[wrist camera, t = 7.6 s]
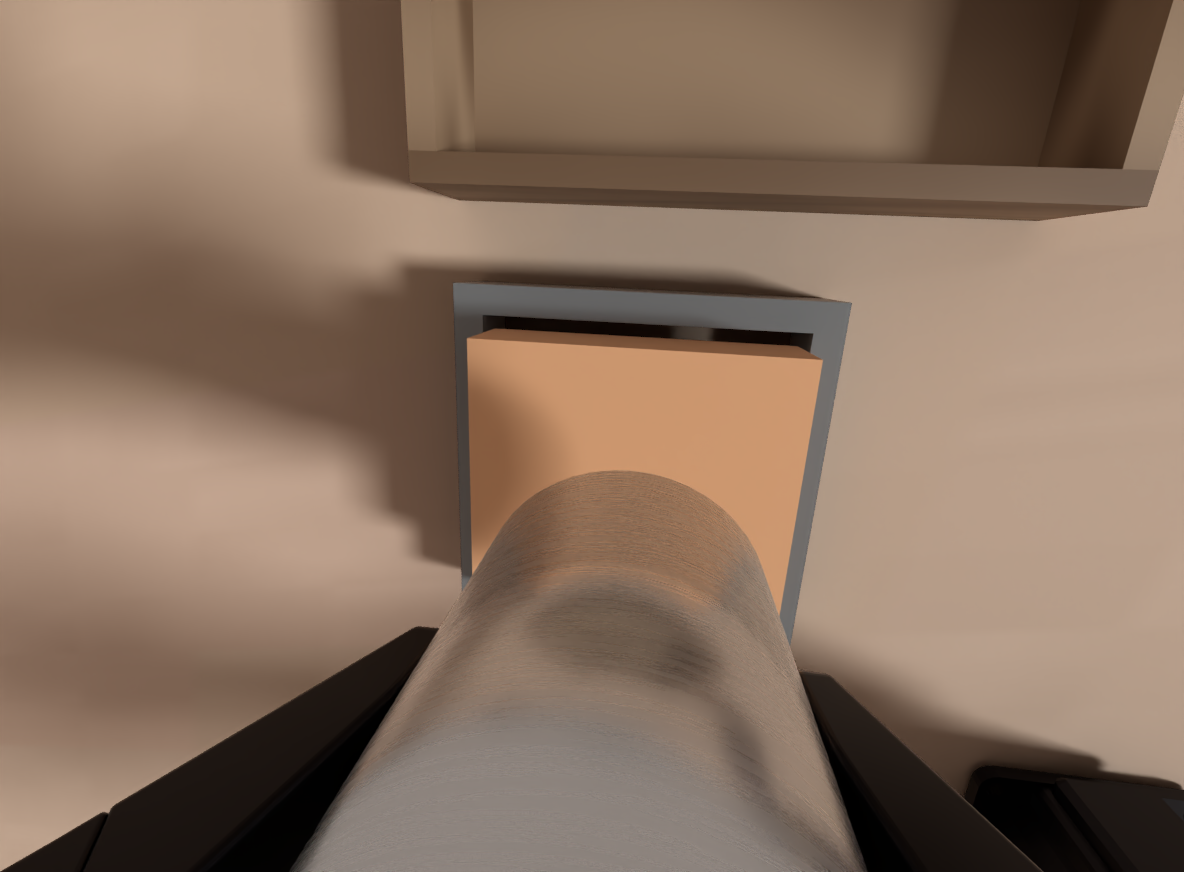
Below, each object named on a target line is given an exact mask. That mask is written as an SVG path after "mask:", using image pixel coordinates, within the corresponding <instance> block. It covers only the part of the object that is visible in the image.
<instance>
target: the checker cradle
mask: <svg viewBox="0 0 1184 872" xmlns="http://www.w3.org/2000/svg"><path fill="white" fill-rule="evenodd" d="M453 297H454V332H455V366H456V400H457V435H458V469H459V503H460V537H461V572H462V591H463V589H464V588H465V586H466V584H467V583H468V581H469V580H470V578H471V576H472V539H471V495H470V451H469V407H468V362H467V338H469V337H472V336H475V335H478V334H480V333H483V332H486V331H489V330H492V329H495V328H497V329H505V316H512V317H530V318H548V319H565V320H583V321H601V322H618V323H636V324H654V325H671V326H689V327H707V328H725V329H742V330H760V331H778V332H791V339H790V345H789V346H798V347H800V348H802V349H804V350H806V351H807V352H809V353H811V354H813V355H815V356H817V357H818V358H820V359H822V360H823V363H822V369H821V375H820V381H819V387H818V392H817V398H816V404H815V410H814V416H813V422H812V428H811V434H810V439H809V445H808V451H807V457H806V463H805V469H804V475H803V481H802V486H801V492H800V498H799V504H798V510H797V516H796V522H795V528H794V533H793V539H792V545H791V551H790V557H789V563H788V569H787V575H786V580H785V586H784V592H783V598H782V604H781V610H780V616H779V617H780V620H781V622H782V625H783V628H784V631H785V634H786V637H787V640H788V643H789V646H790V643H791V638H792V632H793V627H794V621H795V615H796V610H797V604H798V599H799V593H800V588H801V582H802V577H803V571H804V566H805V560H806V554H807V549H808V543H809V538H810V532H811V527H812V521H813V516H814V510H815V505H816V499H817V493H818V488H819V482H820V477H821V471H822V466H823V460H824V455H825V449H826V444H827V438H828V432H829V427H830V421H831V416H832V410H833V405H834V399H835V394H836V388H837V383H838V377H839V371H840V366H841V360H842V355H843V349H844V344H845V338H846V333H847V327H848V322H849V316H850V310H851V305H852V303H849V302H843V301H837V300H831V299H823V298H804V297H784V296H764V295H744V294H724V293H704V292H684V291H664V290H645V289H625V288H605V287H585V286H565V285H545V284H525V283H506V282H486V281H474V282H457V283H453Z"/></svg>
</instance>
